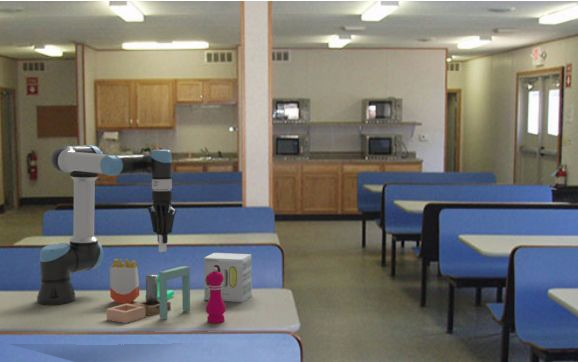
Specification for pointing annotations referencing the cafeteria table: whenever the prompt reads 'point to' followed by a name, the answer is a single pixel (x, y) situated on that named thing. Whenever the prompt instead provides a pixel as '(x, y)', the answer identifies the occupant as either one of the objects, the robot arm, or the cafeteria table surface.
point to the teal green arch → (163, 278)
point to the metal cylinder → (151, 290)
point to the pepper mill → (215, 298)
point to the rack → (125, 313)
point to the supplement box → (230, 275)
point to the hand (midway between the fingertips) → (162, 251)
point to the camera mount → (169, 292)
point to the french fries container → (124, 281)
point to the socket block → (153, 307)
